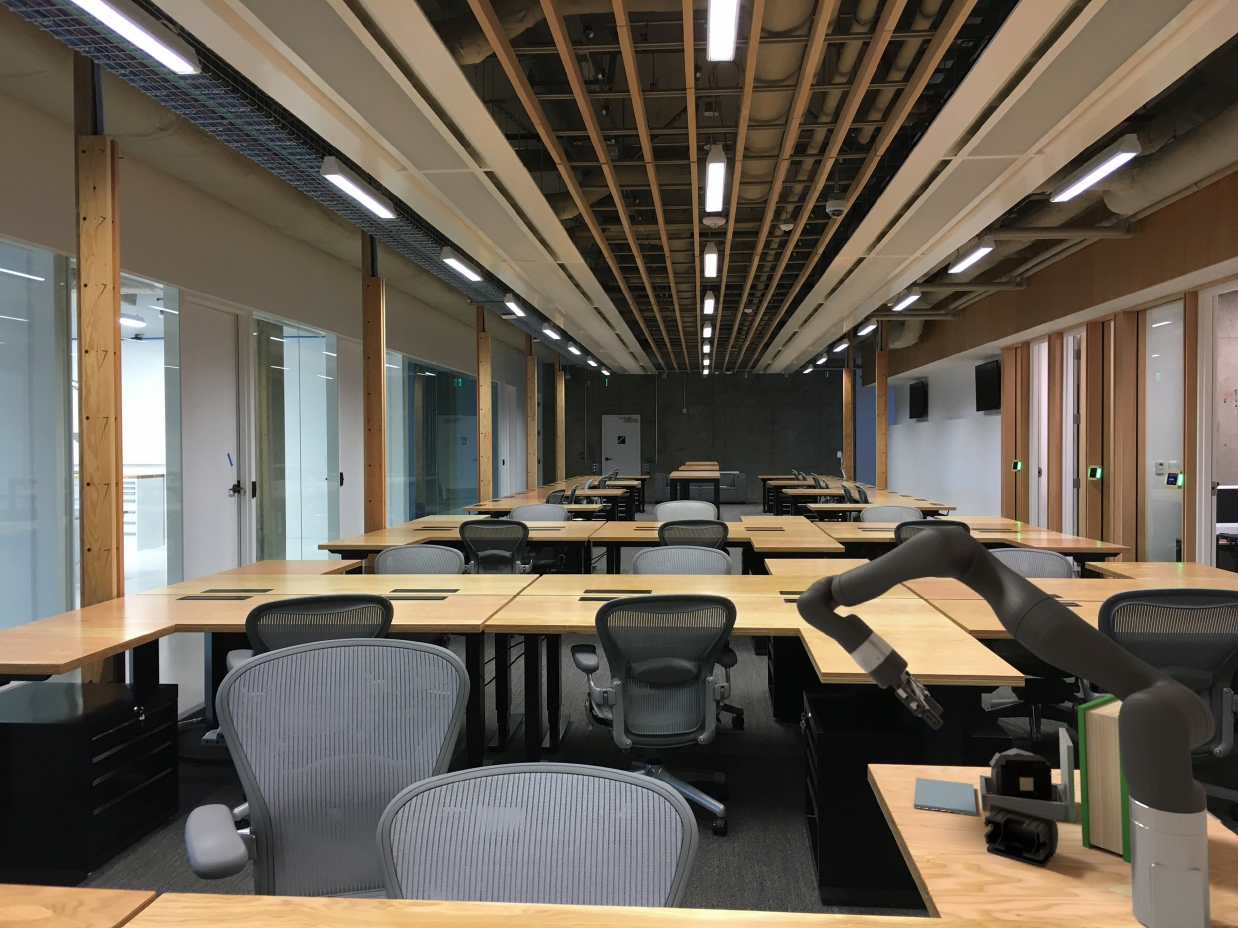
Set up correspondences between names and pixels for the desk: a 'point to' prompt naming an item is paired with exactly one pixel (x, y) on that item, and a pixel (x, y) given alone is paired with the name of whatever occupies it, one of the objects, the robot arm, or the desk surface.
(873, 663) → the robot arm
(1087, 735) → the hardback book
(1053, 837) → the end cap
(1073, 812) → the open rectangular frame
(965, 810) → the rubber mat
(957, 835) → the desk surface
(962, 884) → the desk surface
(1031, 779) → the cpu cooler
